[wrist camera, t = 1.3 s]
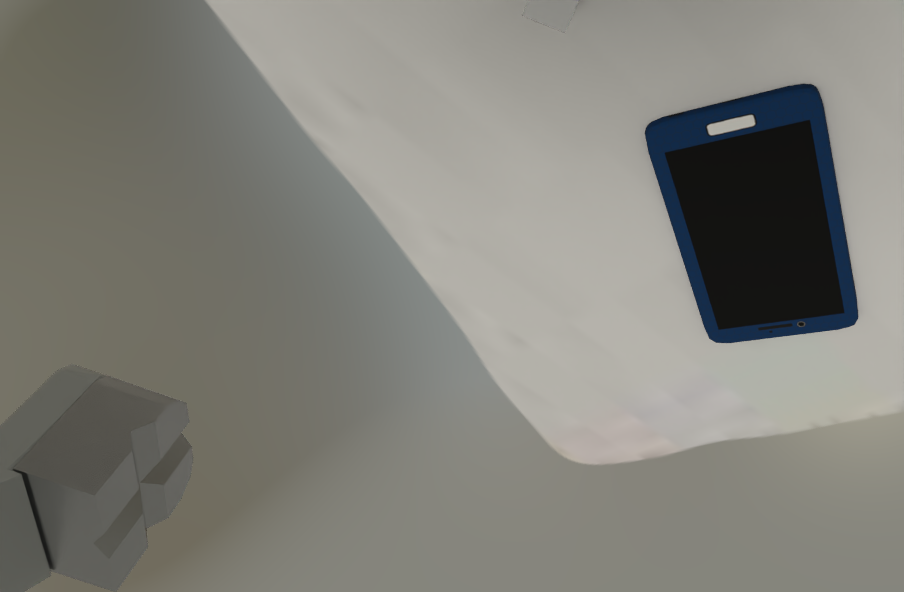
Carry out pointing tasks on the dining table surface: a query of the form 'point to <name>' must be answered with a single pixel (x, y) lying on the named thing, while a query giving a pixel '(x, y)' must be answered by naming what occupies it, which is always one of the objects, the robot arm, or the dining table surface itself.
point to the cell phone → (757, 214)
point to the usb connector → (551, 12)
